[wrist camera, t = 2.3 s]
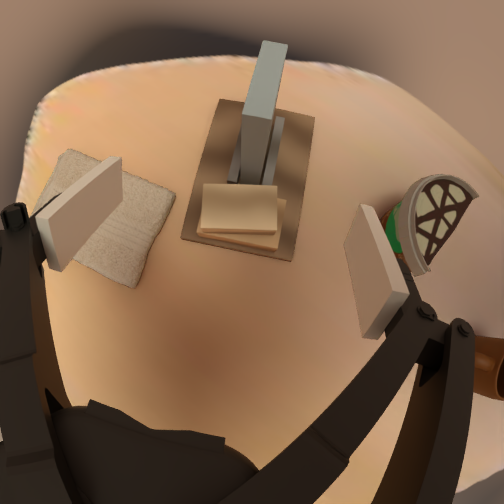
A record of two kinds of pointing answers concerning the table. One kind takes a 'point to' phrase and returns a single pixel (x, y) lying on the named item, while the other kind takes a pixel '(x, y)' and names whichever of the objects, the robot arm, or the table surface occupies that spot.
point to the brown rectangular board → (273, 173)
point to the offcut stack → (242, 215)
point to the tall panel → (260, 110)
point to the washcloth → (115, 220)
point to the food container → (426, 219)
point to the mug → (489, 367)
